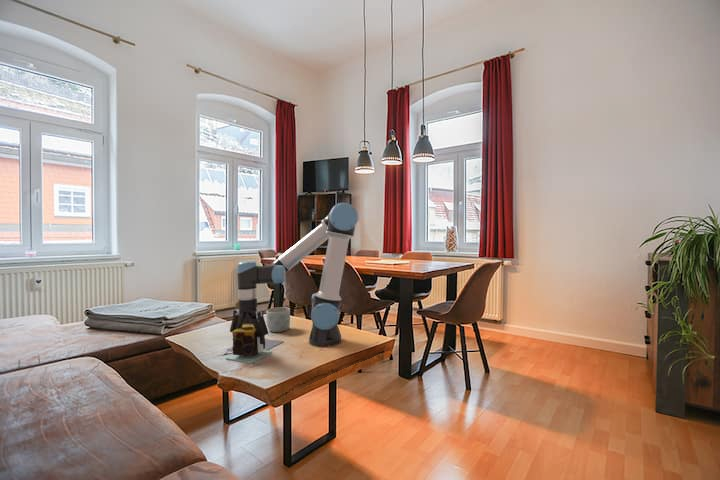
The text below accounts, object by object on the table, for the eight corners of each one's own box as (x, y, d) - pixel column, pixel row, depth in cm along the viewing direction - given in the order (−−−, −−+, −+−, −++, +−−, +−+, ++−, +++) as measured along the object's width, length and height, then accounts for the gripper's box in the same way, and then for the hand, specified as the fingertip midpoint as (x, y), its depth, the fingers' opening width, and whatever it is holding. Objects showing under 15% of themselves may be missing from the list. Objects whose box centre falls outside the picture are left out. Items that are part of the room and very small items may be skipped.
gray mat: (283, 341, 169) (283, 341, 169) (259, 354, 152) (259, 353, 152) (253, 338, 176) (253, 337, 176) (226, 350, 159) (226, 349, 159)
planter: (287, 333, 183) (287, 312, 182) (263, 333, 183) (263, 312, 182) (292, 326, 195) (292, 307, 195) (270, 327, 195) (269, 307, 195)
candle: (254, 356, 144) (253, 332, 144) (231, 355, 146) (231, 331, 146) (266, 348, 154) (265, 325, 154) (244, 347, 156) (244, 324, 156)
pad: (271, 352, 154) (271, 351, 154) (252, 363, 142) (251, 361, 142) (247, 349, 159) (247, 348, 159) (226, 359, 147) (226, 358, 147)
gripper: (276, 298, 149) (277, 350, 150) (232, 295, 158) (233, 344, 158) (264, 301, 142) (266, 356, 143) (219, 298, 151) (221, 350, 151)
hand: (249, 350), depth 150 cm, fingers closed on candle, 11 cm apart
